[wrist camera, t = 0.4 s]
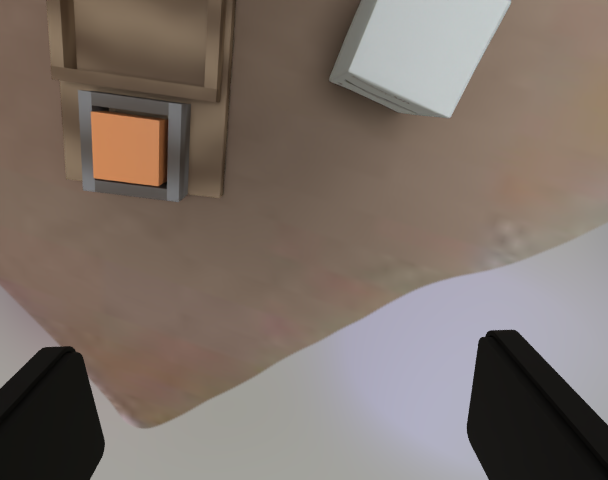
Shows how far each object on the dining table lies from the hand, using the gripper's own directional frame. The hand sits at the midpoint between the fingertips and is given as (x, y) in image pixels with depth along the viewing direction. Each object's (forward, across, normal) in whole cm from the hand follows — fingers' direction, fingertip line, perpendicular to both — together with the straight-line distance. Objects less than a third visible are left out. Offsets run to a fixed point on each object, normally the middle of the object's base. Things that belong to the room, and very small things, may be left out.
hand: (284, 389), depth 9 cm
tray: (+30, +12, -10) cm, 34 cm away
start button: (+27, +13, -3) cm, 30 cm away
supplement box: (+30, -8, -10) cm, 33 cm away
